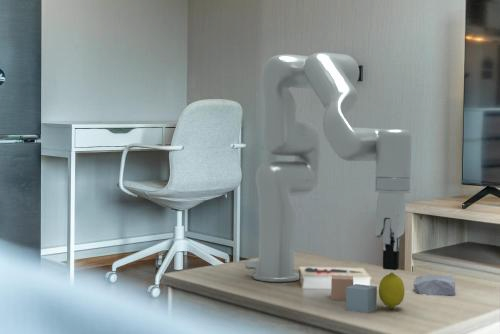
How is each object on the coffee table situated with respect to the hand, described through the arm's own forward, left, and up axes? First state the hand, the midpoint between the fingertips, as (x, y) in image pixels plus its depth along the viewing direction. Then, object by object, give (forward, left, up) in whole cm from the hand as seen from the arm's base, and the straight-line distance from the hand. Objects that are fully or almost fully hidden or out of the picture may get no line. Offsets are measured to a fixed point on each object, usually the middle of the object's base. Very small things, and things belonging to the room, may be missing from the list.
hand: (390, 268), depth 162 cm
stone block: (+6, +25, -9) cm, 27 cm away
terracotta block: (-13, +7, -9) cm, 17 cm away
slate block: (-6, -3, -9) cm, 11 cm away
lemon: (0, 0, -9) cm, 9 cm away
